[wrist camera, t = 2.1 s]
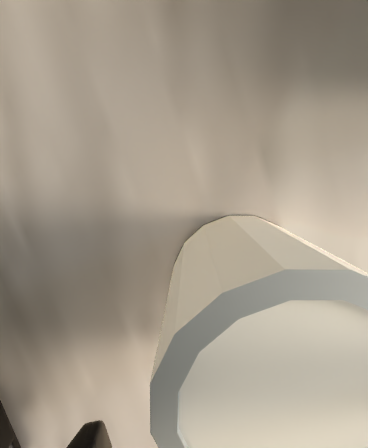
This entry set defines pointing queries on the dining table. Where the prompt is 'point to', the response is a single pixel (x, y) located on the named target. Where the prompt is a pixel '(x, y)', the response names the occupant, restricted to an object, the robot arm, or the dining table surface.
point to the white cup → (261, 344)
